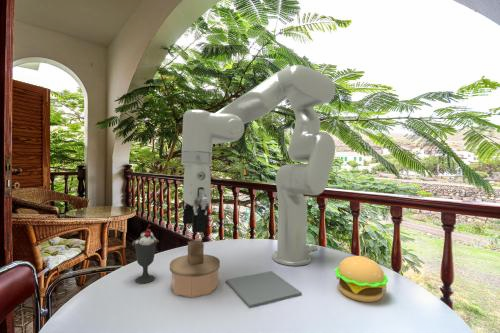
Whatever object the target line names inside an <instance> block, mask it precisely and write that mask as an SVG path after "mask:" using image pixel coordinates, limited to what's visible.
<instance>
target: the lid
mask: <svg viewBox="0 0 500 333" xmlns="http://www.w3.org/2000/svg"><path fill="white" fill-rule="evenodd" d="M204 246H205V244H204V242H203V241H201V240H199V239H198V240H191V241H187V254H186V255H185V254H184V255H182V256H179V257H176V258H174V259H172V260H171V261H170V263H169V271H170V272H171V274H172V273H174V274H176V275H180V276H187V277H194V276H203V275H207V274H210V273H213V272H215V271H216V270H218V271H219V269H220V267H221V260H220V259H219V258H218V257H217V256H214V255H211V254H205V253H204V250H205V249H204V248H205V247H204Z"/></svg>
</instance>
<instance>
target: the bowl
mask: <svg viewBox="0 0 500 333" xmlns="http://www.w3.org/2000/svg"><path fill="white" fill-rule="evenodd" d="M170 286H171V290H172V292H173V293H174V295H177V296H182V297H186V298H195V297H201V296H205V295H210V294H211V293H212V292H214V291H215V289H217V288H218V287H219V269H218V270H216V271H215V272H213V273H210V274H207V275H203V276H194V277H187V276H180V275H176V274H174V273H172V272H171V285H170Z"/></svg>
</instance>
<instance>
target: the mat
mask: <svg viewBox="0 0 500 333" xmlns="http://www.w3.org/2000/svg"><path fill="white" fill-rule="evenodd" d="M225 282H226V284H227V285H228V286H229V287H230V288H231V290H232V291H234V293H235V294H236V295H237V297H238V298H239V299H240V300H241V301H242V302H243V303H244V304H245V305H246V306H247V307H248V309H251V308H255V307H256V308H257V307H259V306H263V305H268V304H271V303H276V302H279V301H280V302H281V301H284V300H287V299H291V298H295V297H296V298H297V297H299V296H302V294H303V293H302V291H300V290H299V289H297V287H294V286H293V285H292V284H291V283H289V282H288V281H286V280H285V279H283V278H282V277H280V275H278V274H276V273H275V272H274V271H264V272H258V273H254V274H249V275H248V274H247V275H244V276H239V277H233V278H227V279H225Z"/></svg>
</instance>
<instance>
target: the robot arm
mask: <svg viewBox="0 0 500 333" xmlns="http://www.w3.org/2000/svg"><path fill="white" fill-rule="evenodd" d="M335 94H336V86H335V83H334V81H333V80H332V78H331V77H330V76H328V75H325V73H322V72H320V71H318V70H315V69H313V68H310V67H309V66H306V65H302V64H293V65H291V66H288V67H286V68H284V69H281V70H278V71H277V72H275V73H273V74H271V75H270V76H268V77H267V78H266V79H264V80H263V81H261V82H260V83H259V84H258V85H256V86H255V87H253V88H252V89H250V90H248V91H247V92H245V93H243V94H242V95H241V96H239V97H238V98H237V99H235V100H233V101H232V102H230V103H228V104H227V105H226V106H223V107H222V108H221V109H219V110H217V111H216V112H209V111H208V110H203V109H188V110H186V111H185V112H184V113H183V116H182V118H183V119H182V134H181V136H182V138H181V140H182V141H181V161H180V162H181V163H180V165H182V166H184V172H183V183H182V184H183V187H182V188H183V189H182V200H183V202H184V204H183V217H182V224H183V225H190V224H191V232H192V233H194V234H195V233H206V231H207V216H208V210H207V209H208V206H210V205H211V200H212V190H211V187H212V185H211V184H212V182H211V180H212V179H211V166H212V159H213V158H212V156H213V155H212V154H213V145H218V144H225V143H226V144H228V143H233V142H236V141H238V140H239V139H241V138H242V136H243V135H244V134H245V125H247V124H248V123H251V122H254V121H256V120H259V119H261V118H262V117H265V116H266V115H268V114H269V113H270V112H271V111H273V110H274V109H275V108H276V107H277V106H279V105H280V104H281V103H283V101H285V100H287V99H288V103H289V105H290V106H291V109H292V110H293V113H294V116H295V124H294V128H293V132H292V135H291V137H290V138H291V139H290V142H289V145H288V152H287V153H288V154H287V155H288V156H289V158H290V159H291V160H292V161H293V162H297V163H288V164H284V165H282V166H281V167H279V168H278V170H277V171H276V174H275V185H276V191H277V192H276V193H277V205H278V206H277V244H276V246H277V249H276V251H274V252H273V253H272V259H273V261H275V262H277V263H279V264H280V265H281V264H282V265H284V266H291V267H292V266H294V267H296V266H297V267H298V266H299V267H300V266H305V265H308V264H310V263H311V261H312V256H311V255H310V253H311V252H312V253H314V252H317V251H318V250H319V248H318V245H311V246H310V244H307V237H308V236H307V234H308V232H307V230H308V228H307V227H308V204H307V201H306V200H307V199H306V198H305V196H304V195H307V196H308V195H309V196H319V195H320V194H322V193H323V192H324V191H325V190H326V188H327V185H328V182H329V178H330V175H331V171H332V167H333V163H334V159H335V155H336V154H335V153H336V144H335V140H334V139H333V137H332V135H331V134H329V133H327V132H324V131H322V132H321V131H320V128H321V119H320V117H319V115H318V114H317V113H316V111H315V109H314V108H313V107H315V106H320V105H324V104H327V103H329V102H331V101H332V100H333V99H334V97H335Z"/></svg>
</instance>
